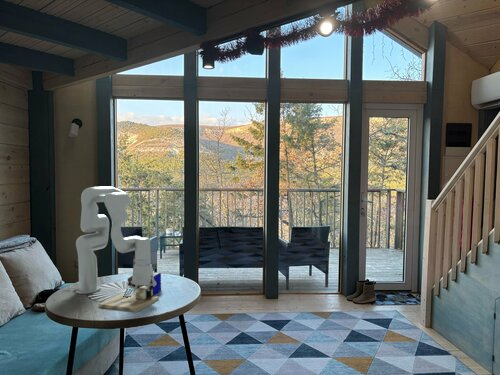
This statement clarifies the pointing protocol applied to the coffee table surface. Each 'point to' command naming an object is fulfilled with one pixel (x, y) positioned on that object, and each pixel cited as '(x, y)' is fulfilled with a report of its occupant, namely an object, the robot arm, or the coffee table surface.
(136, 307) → the tan board with strips
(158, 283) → the puzzle cube
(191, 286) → the coffee table surface
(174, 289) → the coffee table surface
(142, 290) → the block
